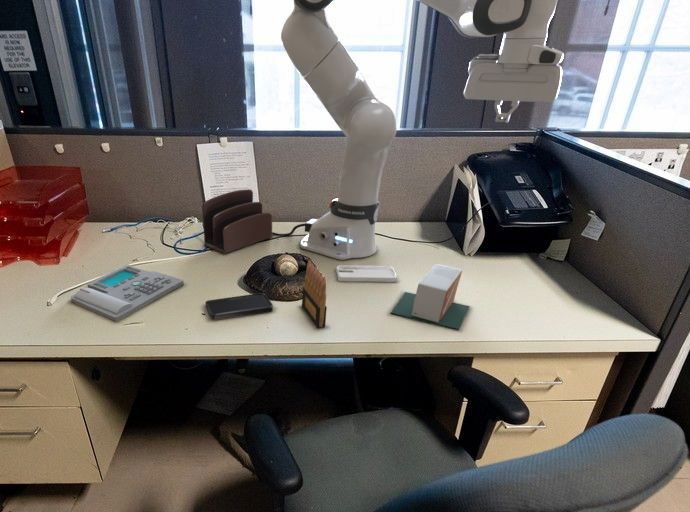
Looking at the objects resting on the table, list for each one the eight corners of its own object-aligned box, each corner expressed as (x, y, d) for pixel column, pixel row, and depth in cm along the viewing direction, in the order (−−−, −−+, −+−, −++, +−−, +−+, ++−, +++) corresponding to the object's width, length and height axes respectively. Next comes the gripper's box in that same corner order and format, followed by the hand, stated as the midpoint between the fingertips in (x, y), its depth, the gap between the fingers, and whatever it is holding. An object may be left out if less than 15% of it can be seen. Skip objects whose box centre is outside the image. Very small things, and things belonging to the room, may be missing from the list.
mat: (390, 314, 109) (390, 312, 109) (405, 293, 117) (405, 291, 117) (458, 330, 102) (458, 329, 102) (468, 307, 111) (469, 306, 110)
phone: (274, 307, 110) (211, 316, 107) (273, 311, 111) (211, 320, 108) (264, 292, 116) (204, 300, 113) (264, 296, 117) (204, 304, 114)
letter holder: (203, 245, 145) (200, 198, 136) (251, 230, 155) (251, 185, 147) (224, 254, 139) (222, 206, 130) (272, 237, 149) (273, 191, 141)
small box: (454, 300, 113) (438, 323, 104) (428, 293, 116) (410, 315, 107) (463, 268, 108) (447, 290, 99) (435, 262, 111) (417, 283, 102)
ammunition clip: (325, 327, 104) (330, 277, 97) (317, 328, 104) (321, 278, 97) (308, 305, 113) (312, 258, 106) (301, 306, 112) (304, 258, 105)
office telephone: (115, 313, 106) (59, 290, 116) (117, 323, 108) (62, 300, 117) (183, 275, 121) (128, 258, 131) (184, 284, 123) (130, 267, 132)
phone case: (338, 281, 123) (396, 282, 122) (339, 276, 122) (397, 277, 121) (335, 269, 129) (391, 270, 128) (336, 265, 128) (392, 265, 127)
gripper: (469, 54, 110) (454, 121, 118) (570, 54, 101) (546, 126, 109) (474, 53, 114) (459, 117, 122) (571, 53, 105) (548, 122, 114)
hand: (501, 121), depth 116 cm, fingers closed
